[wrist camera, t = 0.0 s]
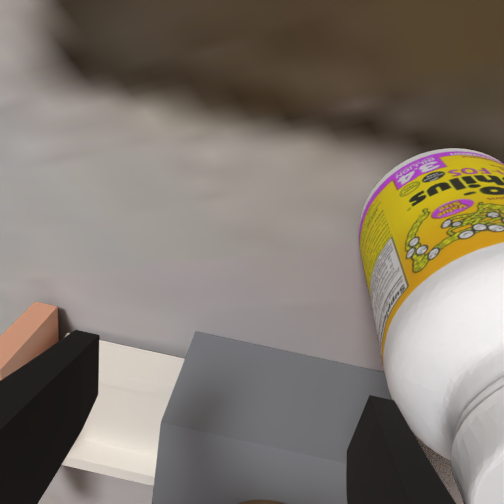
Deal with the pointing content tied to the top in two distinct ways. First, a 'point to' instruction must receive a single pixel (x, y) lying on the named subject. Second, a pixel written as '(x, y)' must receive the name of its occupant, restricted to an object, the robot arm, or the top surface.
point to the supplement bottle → (443, 306)
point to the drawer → (105, 397)
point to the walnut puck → (261, 502)
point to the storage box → (259, 425)
